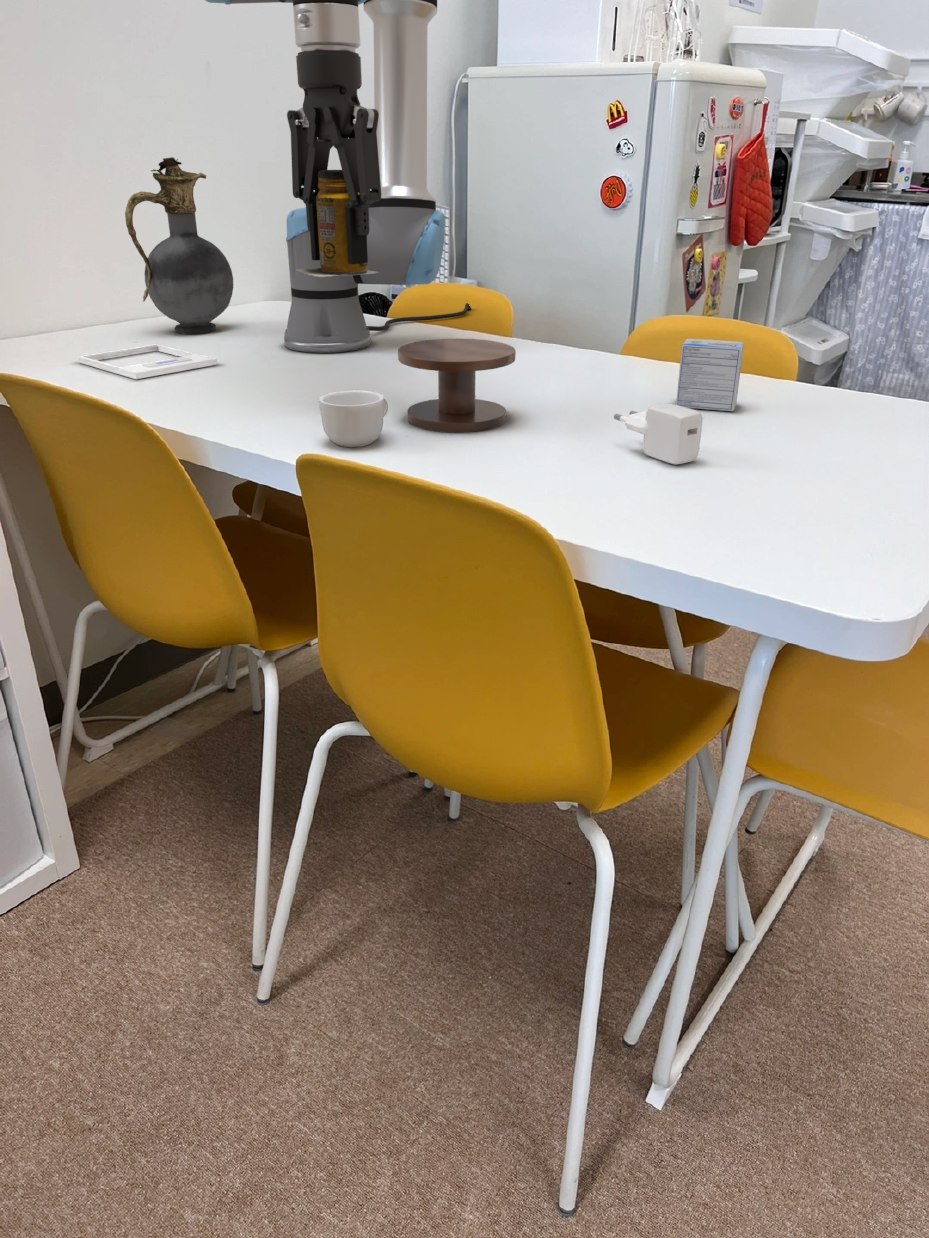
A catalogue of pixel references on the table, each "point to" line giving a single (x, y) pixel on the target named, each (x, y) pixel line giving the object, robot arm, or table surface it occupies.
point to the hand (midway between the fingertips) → (339, 261)
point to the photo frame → (151, 368)
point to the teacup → (353, 416)
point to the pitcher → (182, 256)
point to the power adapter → (667, 432)
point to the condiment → (333, 228)
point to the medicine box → (709, 374)
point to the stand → (456, 383)
